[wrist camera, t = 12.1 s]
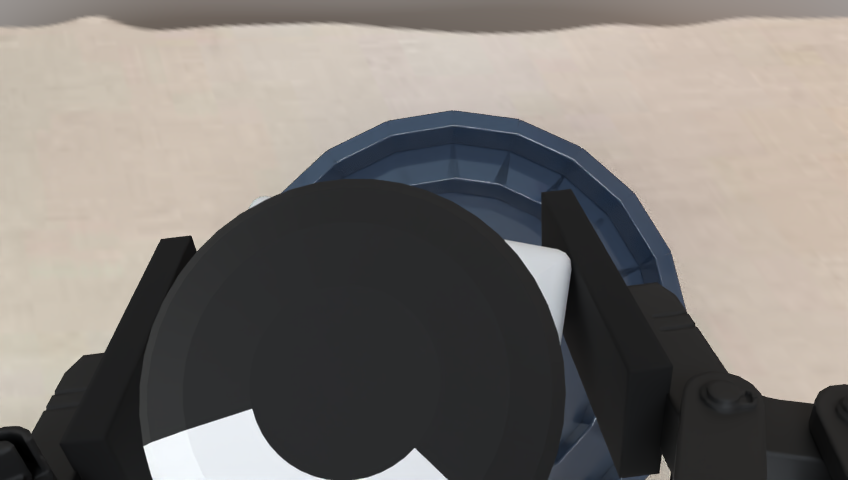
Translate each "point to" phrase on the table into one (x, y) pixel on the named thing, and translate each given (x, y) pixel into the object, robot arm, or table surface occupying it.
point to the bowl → (515, 218)
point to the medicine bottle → (358, 345)
